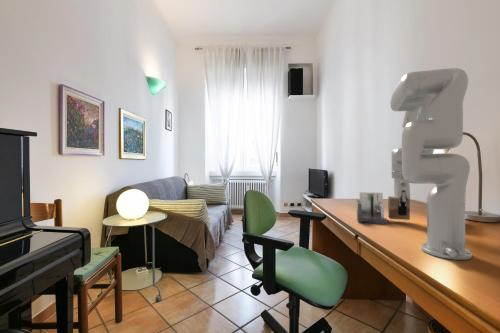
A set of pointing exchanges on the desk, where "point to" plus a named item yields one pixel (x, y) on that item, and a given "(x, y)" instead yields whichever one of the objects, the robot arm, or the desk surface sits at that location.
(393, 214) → the push block
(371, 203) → the dark flat plank
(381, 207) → the plate
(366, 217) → the stand
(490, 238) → the desk surface
